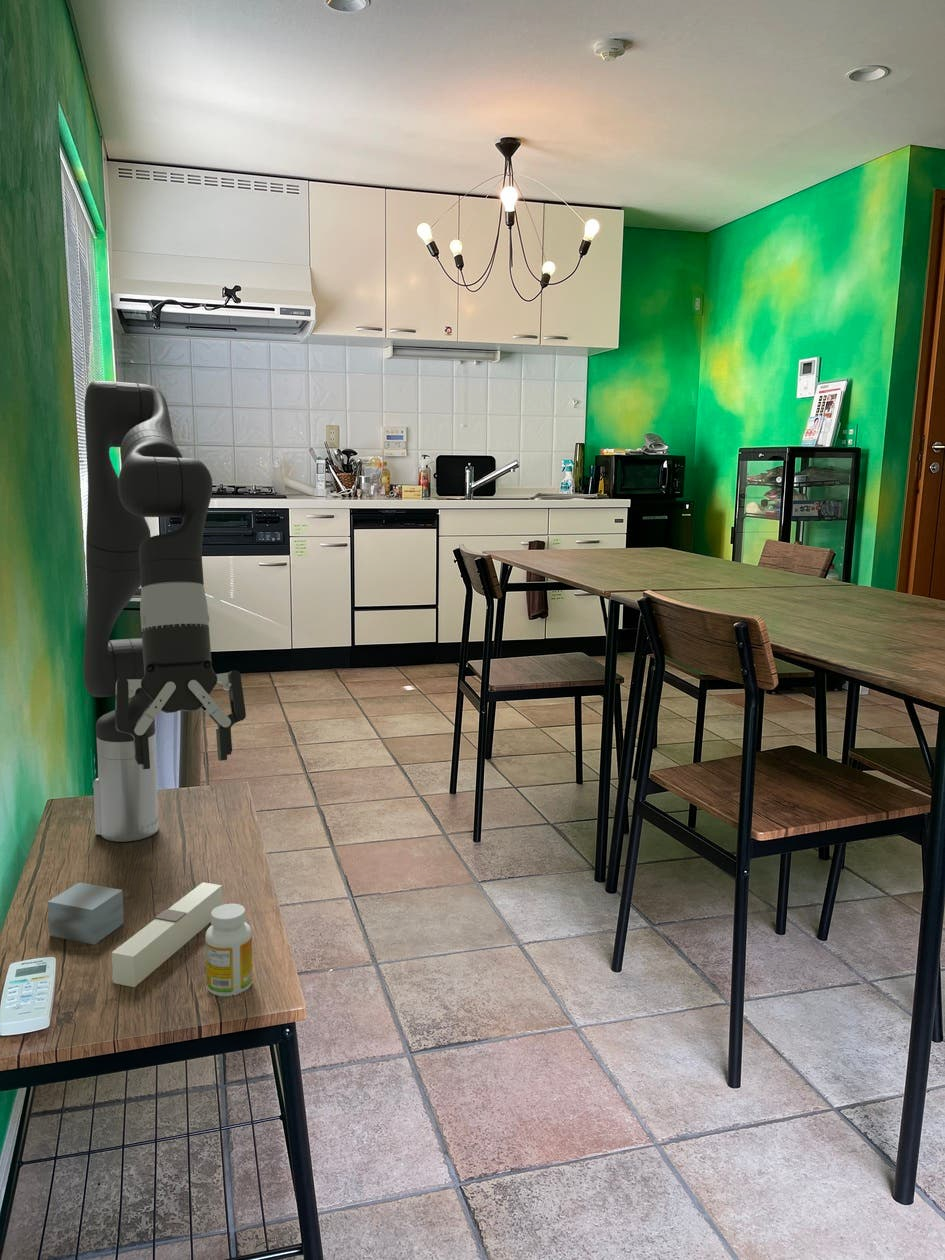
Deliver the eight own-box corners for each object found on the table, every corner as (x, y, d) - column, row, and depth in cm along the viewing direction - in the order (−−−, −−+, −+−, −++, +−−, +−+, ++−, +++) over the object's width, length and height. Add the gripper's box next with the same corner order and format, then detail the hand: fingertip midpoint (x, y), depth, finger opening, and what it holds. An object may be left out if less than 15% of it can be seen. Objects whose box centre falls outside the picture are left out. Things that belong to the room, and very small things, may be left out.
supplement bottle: (244, 968, 115) (242, 896, 113) (258, 989, 110) (257, 915, 109) (201, 980, 112) (199, 906, 110) (214, 1002, 107) (212, 926, 106)
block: (49, 936, 122) (47, 901, 121) (80, 915, 127) (79, 882, 126) (94, 945, 120) (92, 909, 119) (123, 924, 125) (122, 890, 124)
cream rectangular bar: (112, 982, 111) (111, 950, 110) (203, 908, 130) (202, 880, 129) (134, 987, 110) (133, 955, 109) (222, 911, 129) (222, 884, 128)
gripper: (231, 626, 113) (240, 757, 112) (107, 632, 107) (116, 771, 106) (243, 618, 106) (253, 758, 105) (112, 624, 100) (121, 772, 99)
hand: (184, 764), depth 105 cm, fingers open, 8 cm apart
